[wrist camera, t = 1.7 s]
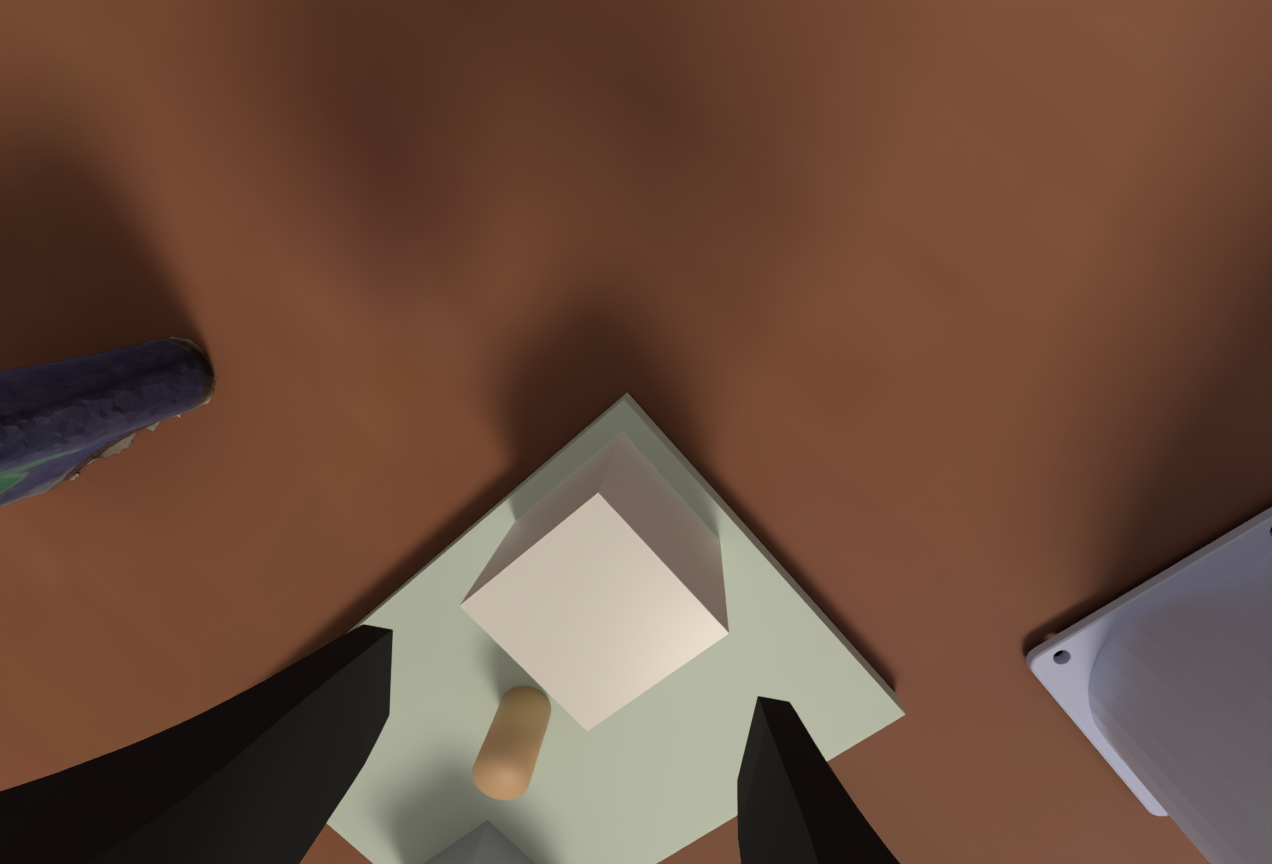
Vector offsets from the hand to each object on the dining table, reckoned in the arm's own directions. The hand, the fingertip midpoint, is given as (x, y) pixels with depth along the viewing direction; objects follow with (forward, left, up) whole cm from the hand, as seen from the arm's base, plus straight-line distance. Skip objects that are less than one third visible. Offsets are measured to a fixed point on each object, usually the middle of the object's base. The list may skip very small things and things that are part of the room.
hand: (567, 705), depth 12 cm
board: (+7, +4, -9) cm, 12 cm away
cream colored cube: (0, 0, -8) cm, 8 cm away
